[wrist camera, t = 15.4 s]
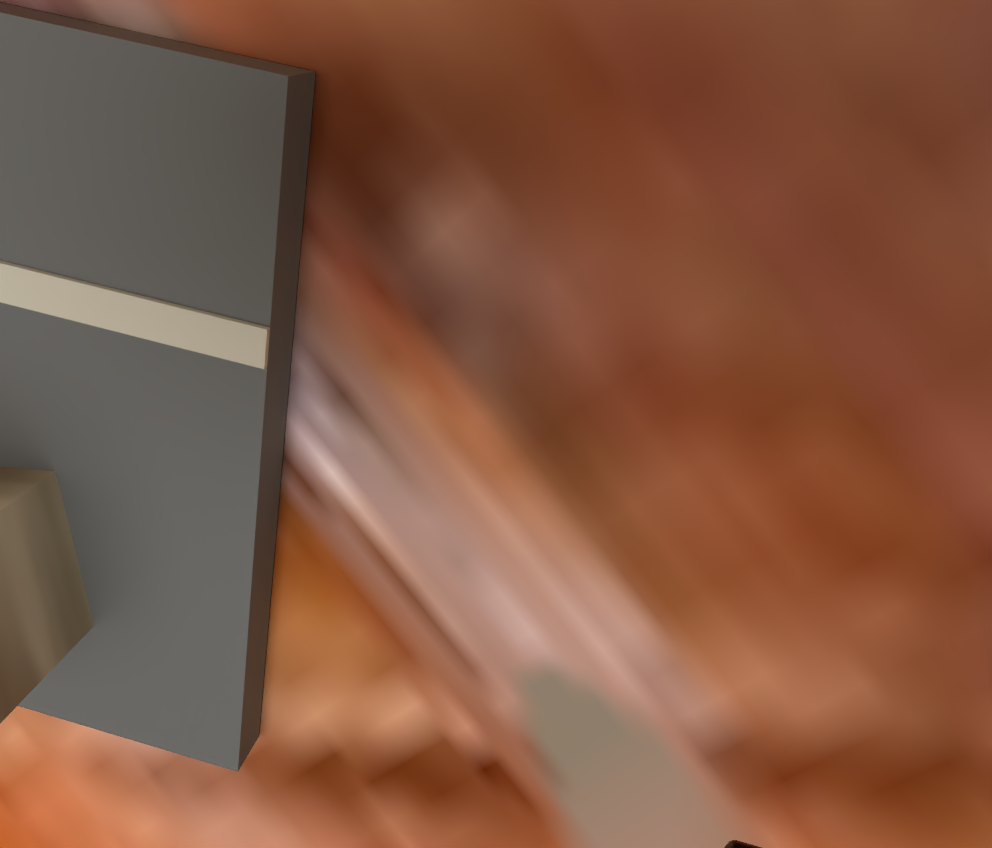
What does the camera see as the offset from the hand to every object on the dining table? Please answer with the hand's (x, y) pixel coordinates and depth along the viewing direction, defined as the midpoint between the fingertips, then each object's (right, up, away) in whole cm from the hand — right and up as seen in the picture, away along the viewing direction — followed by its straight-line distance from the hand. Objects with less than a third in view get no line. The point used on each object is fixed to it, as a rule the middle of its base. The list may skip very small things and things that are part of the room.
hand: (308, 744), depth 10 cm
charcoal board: (-10, +4, +15) cm, 18 cm away
